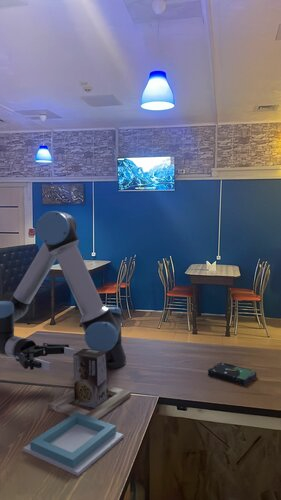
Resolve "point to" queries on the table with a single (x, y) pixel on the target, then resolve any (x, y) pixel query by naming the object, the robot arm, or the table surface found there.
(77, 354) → the coffee box
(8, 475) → the table surface
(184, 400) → the table surface
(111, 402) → the birch frame
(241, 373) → the disk drive
